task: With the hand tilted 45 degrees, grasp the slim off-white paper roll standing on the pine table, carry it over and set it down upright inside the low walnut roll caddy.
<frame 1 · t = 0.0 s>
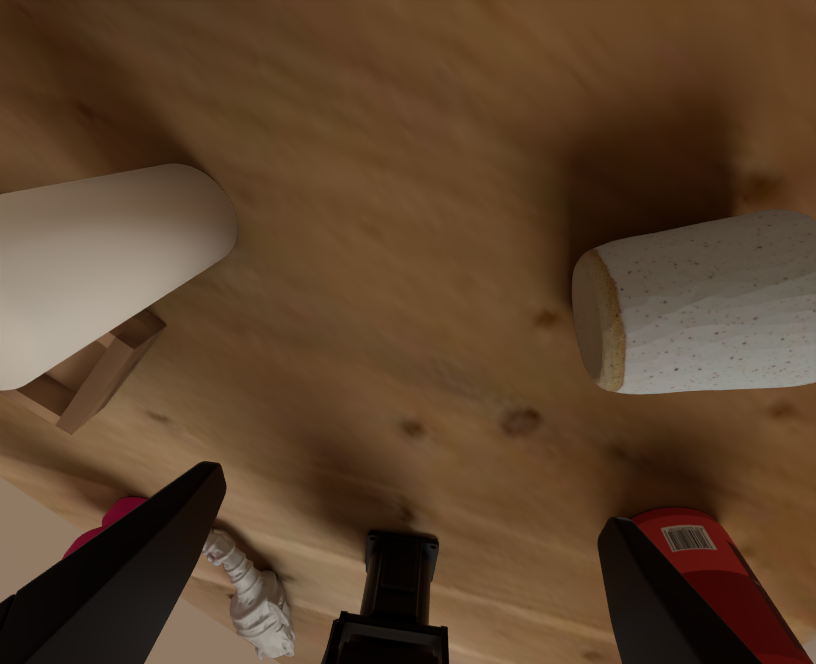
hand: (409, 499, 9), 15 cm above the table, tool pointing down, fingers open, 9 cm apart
ceramic mug: (646, 299, 21), on the table
seahorse: (258, 575, 41), on the table
canned food: (663, 532, 31), on the table
caddy: (59, 319, 26), on the table
pepper mill: (148, 514, 37), on the table
paper roll: (189, 216, 21), on the table
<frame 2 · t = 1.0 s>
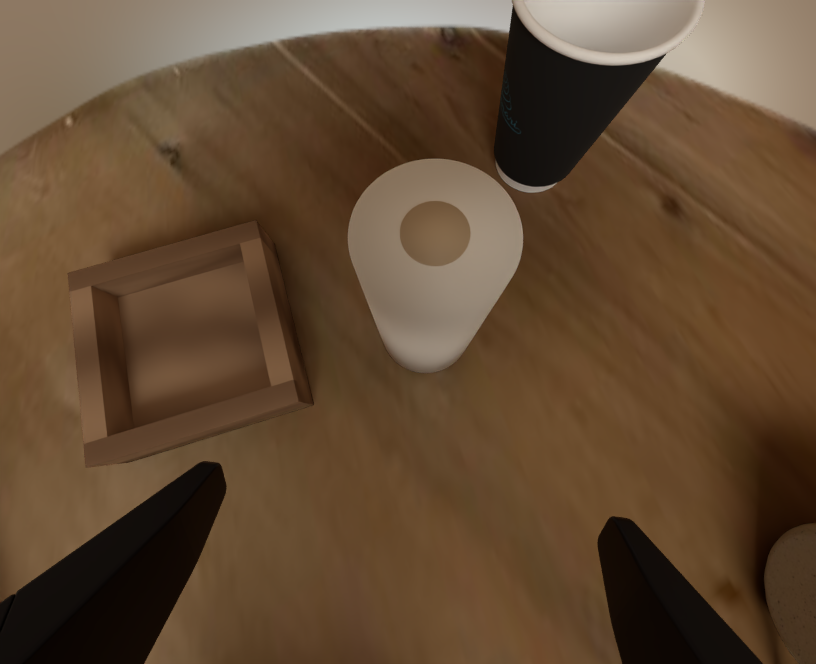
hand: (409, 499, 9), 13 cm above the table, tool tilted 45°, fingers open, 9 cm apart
caddy: (206, 345, 24), on the table
dixie cup: (529, 164, 26), on the table
paper roll: (425, 329, 24), on the table
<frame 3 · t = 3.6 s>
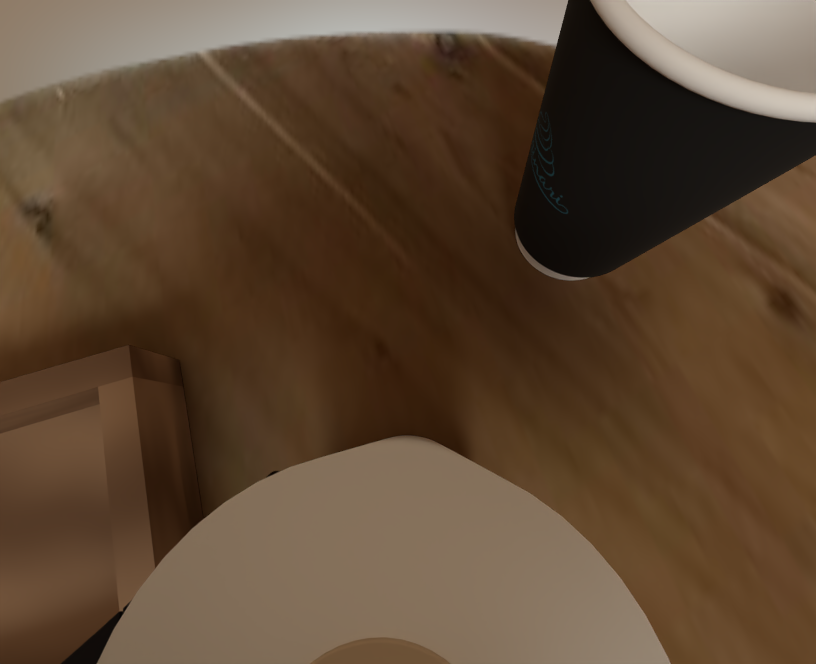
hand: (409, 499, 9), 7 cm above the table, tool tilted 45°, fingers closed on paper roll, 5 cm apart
caddy: (59, 533, 15), on the table
dixie cup: (564, 235, 18), on the table
paper roll: (407, 508, 15), on the table, touching gripper
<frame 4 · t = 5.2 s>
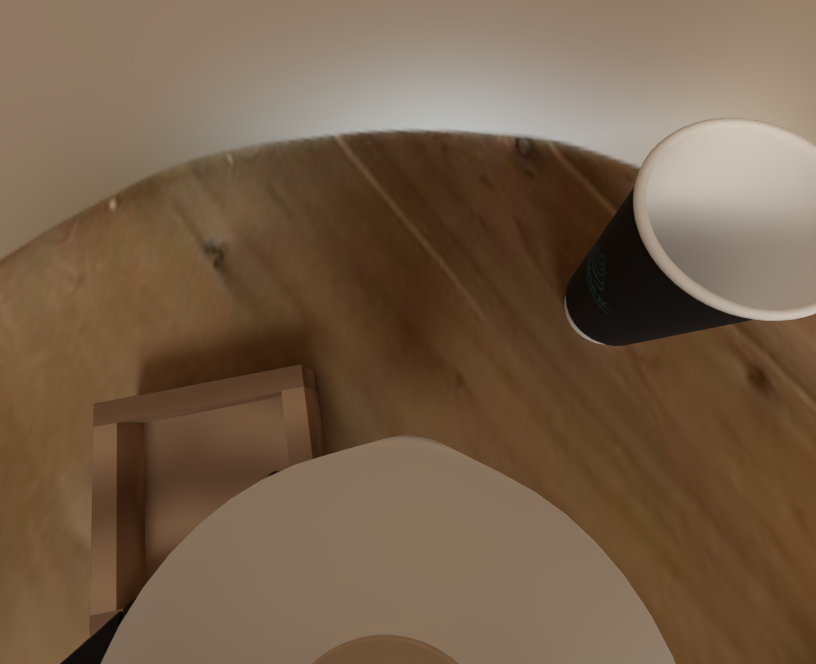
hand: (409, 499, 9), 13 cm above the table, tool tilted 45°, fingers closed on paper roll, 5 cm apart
caddy: (232, 484, 22), on the table
dixie cup: (600, 308, 24), on the table
paper roll: (408, 507, 15), point 7 cm above the table, touching gripper
when the fingers open (9 cm above the table, at t = 7.0 s): paper roll drops 1 cm, resting on caddy.
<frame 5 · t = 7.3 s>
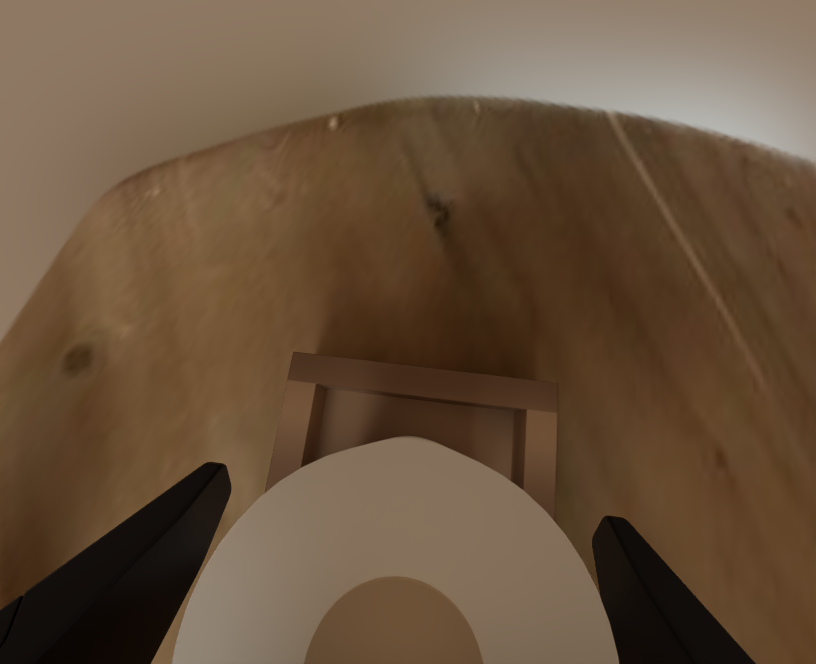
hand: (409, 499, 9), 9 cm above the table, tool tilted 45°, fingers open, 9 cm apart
caddy: (408, 497, 17), on the table
paper roll: (408, 502, 16), point 1 cm above the table, touching caddy
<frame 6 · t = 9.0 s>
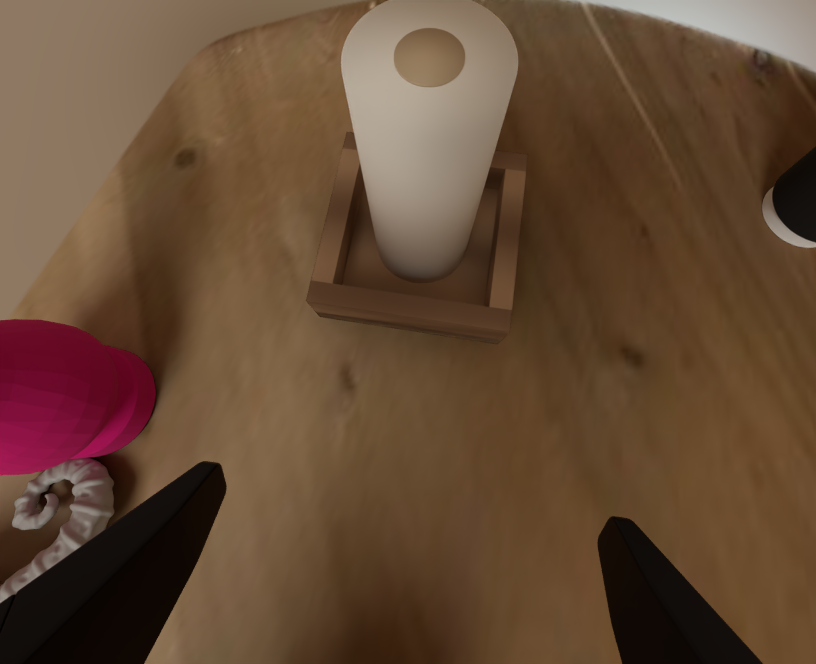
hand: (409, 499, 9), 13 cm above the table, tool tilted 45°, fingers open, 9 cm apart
caddy: (421, 248, 24), on the table
pepper mill: (107, 401, 23), on the table
dixie cup: (797, 215, 25), on the table
paper roll: (421, 241, 23), point 1 cm above the table, touching caddy
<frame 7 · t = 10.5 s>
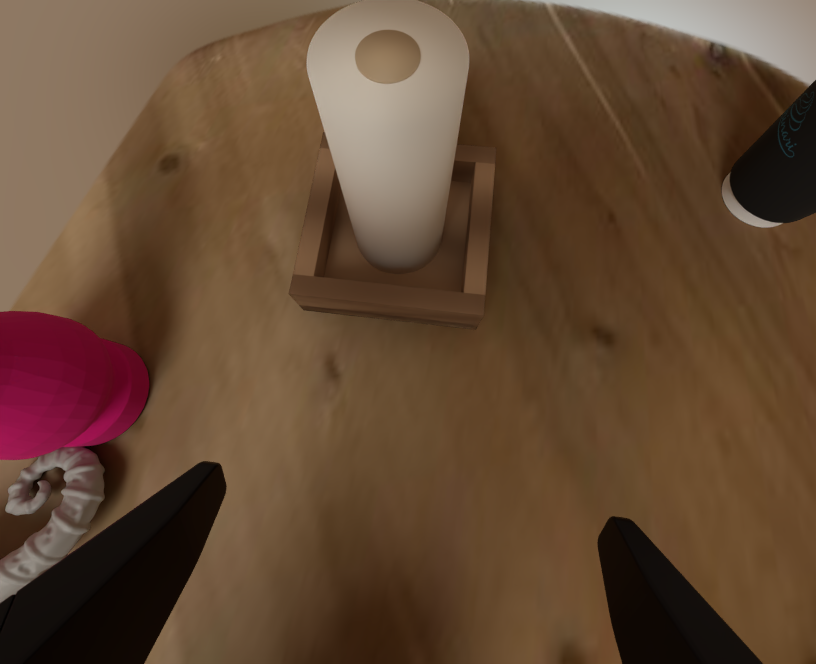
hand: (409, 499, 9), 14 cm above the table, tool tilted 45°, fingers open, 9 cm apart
caddy: (399, 241, 25), on the table
pepper mill: (102, 393, 23), on the table
dixie cup: (755, 197, 26), on the table
paper roll: (399, 234, 24), point 1 cm above the table, touching caddy
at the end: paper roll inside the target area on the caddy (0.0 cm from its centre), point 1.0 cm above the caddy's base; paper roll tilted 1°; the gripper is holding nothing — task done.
